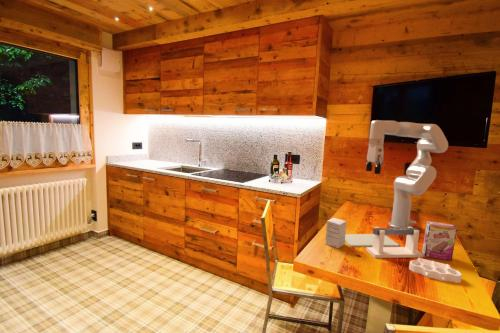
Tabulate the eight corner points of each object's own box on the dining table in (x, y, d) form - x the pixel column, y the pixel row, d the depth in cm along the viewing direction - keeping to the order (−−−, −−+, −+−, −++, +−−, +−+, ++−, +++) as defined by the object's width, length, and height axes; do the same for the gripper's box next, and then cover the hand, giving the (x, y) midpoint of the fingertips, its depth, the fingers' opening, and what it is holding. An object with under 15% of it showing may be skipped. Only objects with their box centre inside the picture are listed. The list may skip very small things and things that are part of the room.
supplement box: (331, 240, 144) (333, 217, 142) (345, 244, 139) (347, 221, 137) (324, 243, 139) (326, 220, 137) (338, 248, 134) (340, 224, 132)
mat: (383, 235, 153) (383, 234, 153) (399, 246, 139) (399, 244, 139) (339, 235, 151) (339, 234, 150) (350, 246, 137) (350, 245, 137)
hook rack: (411, 249, 136) (414, 225, 134) (423, 257, 128) (426, 232, 126) (365, 250, 133) (368, 225, 132) (374, 257, 126) (377, 232, 124)
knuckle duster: (457, 272, 116) (463, 288, 103) (408, 260, 125) (408, 274, 112) (458, 264, 115) (464, 280, 103) (409, 253, 124) (409, 267, 112)
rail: (415, 232, 131) (416, 228, 131) (419, 234, 129) (420, 230, 129) (372, 233, 129) (373, 228, 129) (375, 235, 127) (376, 230, 127)
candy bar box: (424, 257, 128) (429, 224, 125) (421, 252, 132) (426, 220, 130) (452, 261, 124) (457, 227, 122) (448, 257, 129) (453, 224, 127)
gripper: (391, 143, 144) (387, 175, 146) (374, 142, 161) (371, 170, 163) (377, 143, 143) (373, 174, 146) (362, 141, 160) (359, 169, 163)
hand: (372, 172), depth 154 cm, fingers open, 9 cm apart
